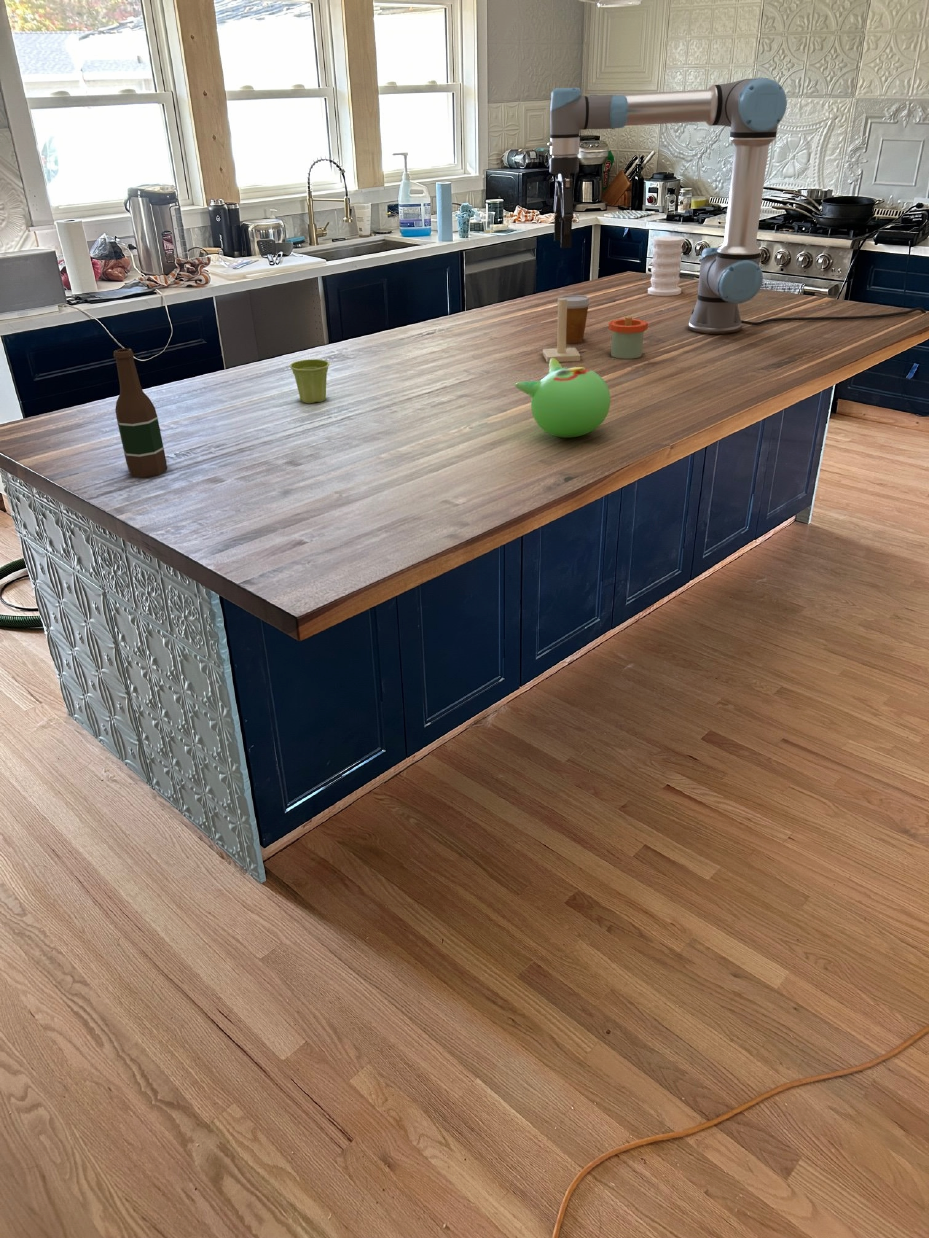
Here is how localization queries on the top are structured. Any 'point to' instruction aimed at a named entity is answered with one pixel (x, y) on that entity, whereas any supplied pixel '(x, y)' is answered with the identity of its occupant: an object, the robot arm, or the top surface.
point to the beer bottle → (137, 422)
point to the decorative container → (666, 265)
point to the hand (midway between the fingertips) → (562, 244)
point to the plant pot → (311, 379)
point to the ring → (622, 328)
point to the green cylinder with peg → (627, 343)
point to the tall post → (561, 338)
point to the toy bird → (568, 400)
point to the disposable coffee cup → (576, 317)
